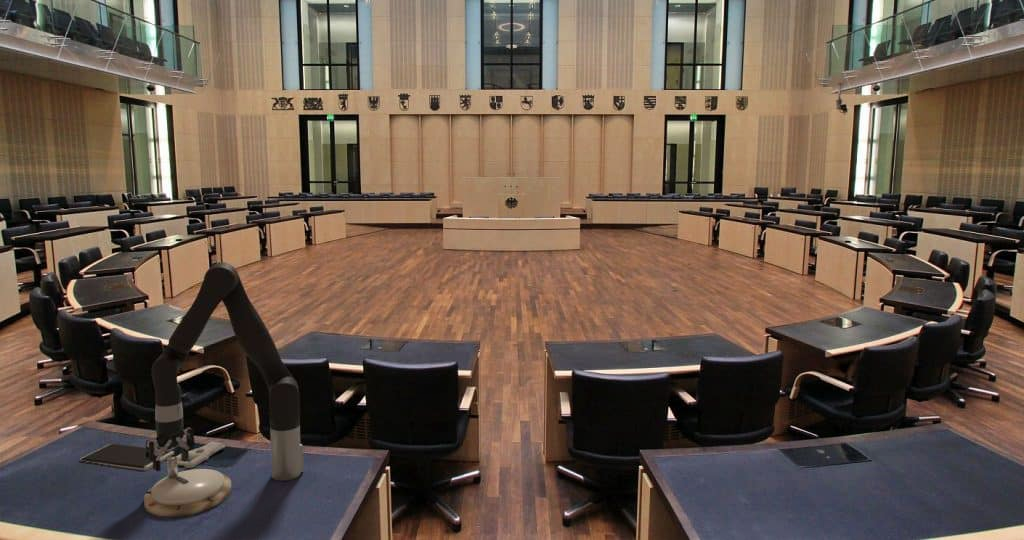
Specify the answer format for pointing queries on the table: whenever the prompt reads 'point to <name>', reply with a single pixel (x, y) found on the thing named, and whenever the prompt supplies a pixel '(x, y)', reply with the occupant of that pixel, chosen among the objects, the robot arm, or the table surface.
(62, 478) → the table surface
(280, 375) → the robot arm
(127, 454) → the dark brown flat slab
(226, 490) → the dial base
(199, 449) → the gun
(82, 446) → the table surface
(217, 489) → the dial
